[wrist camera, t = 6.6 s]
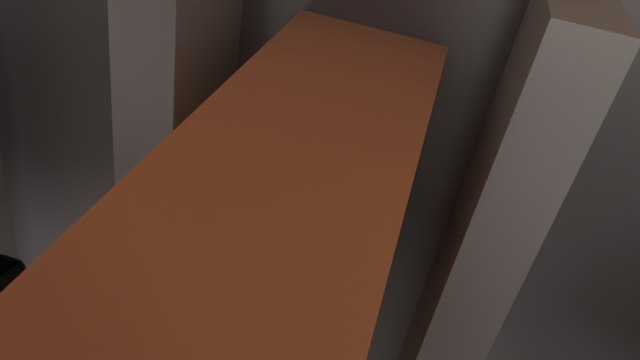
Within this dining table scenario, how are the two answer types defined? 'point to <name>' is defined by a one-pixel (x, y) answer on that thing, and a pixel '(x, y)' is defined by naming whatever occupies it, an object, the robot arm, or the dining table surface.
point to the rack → (432, 170)
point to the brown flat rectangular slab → (247, 215)
